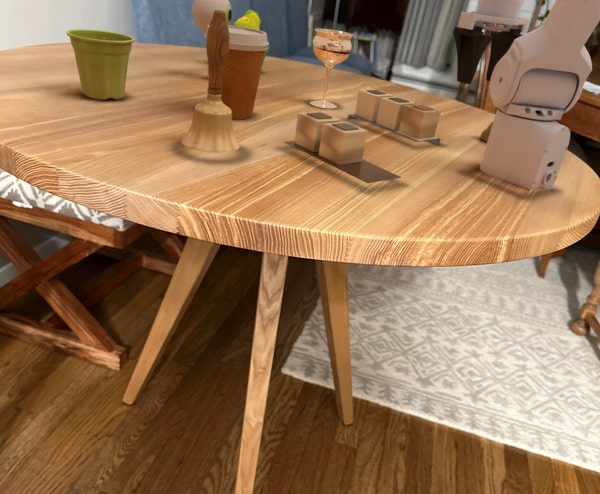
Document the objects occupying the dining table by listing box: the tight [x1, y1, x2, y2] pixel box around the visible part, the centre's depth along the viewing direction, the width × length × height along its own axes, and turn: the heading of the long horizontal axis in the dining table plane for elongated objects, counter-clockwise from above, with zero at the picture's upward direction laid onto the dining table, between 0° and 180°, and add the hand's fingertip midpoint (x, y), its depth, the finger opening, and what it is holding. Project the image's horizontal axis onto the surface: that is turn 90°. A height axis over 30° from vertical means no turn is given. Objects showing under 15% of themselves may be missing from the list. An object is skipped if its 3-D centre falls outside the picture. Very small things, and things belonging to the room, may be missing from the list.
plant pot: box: [66, 29, 136, 101], centre depth 85 cm, size 9×9×9 cm
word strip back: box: [347, 88, 442, 146], centre depth 90 cm, size 15×6×5 cm, turn 39°
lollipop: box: [191, 0, 233, 80], centre depth 105 cm, size 7×7×15 cm
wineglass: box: [309, 28, 354, 109], centre depth 99 cm, size 7×7×12 cm
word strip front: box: [284, 111, 402, 184], centre depth 72 cm, size 16×6×5 cm, turn 39°
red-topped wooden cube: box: [399, 103, 442, 139], centre depth 87 cm, size 4×4×4 cm
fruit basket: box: [233, 9, 270, 66], centre depth 119 cm, size 11×9×11 cm
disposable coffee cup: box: [203, 24, 270, 120], centre depth 85 cm, size 10×10×12 cm
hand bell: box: [181, 10, 241, 154], centre depth 67 cm, size 8×8×16 cm
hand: (478, 82), depth 86 cm, fingers open, 7 cm apart
